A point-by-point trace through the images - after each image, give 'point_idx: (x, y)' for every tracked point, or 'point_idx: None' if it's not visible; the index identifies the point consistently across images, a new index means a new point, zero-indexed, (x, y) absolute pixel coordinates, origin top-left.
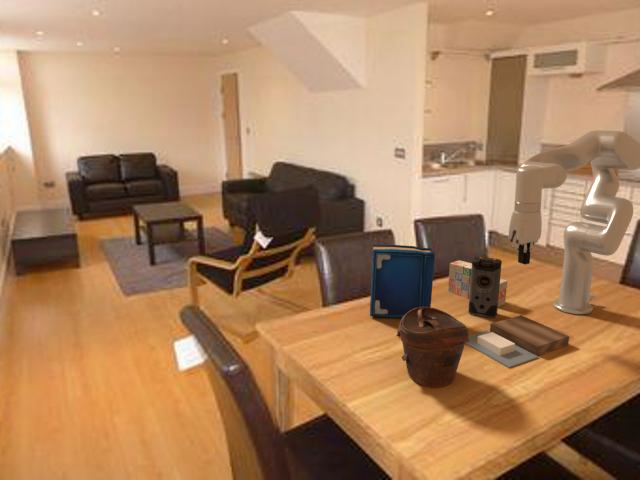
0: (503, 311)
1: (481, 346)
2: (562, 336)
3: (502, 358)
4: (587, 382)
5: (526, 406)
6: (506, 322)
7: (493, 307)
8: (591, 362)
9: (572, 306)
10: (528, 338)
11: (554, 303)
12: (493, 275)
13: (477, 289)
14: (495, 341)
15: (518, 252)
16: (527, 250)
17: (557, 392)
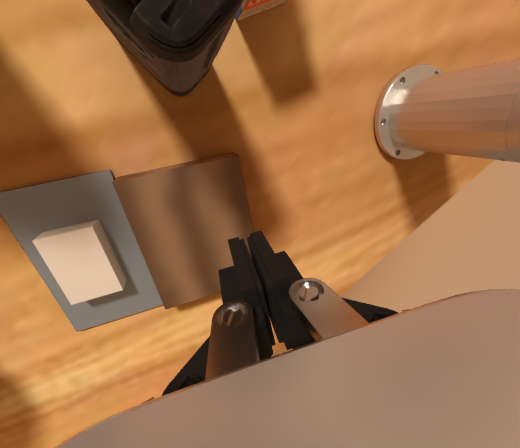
0: (240, 59)
1: None
2: None
3: (78, 303)
4: None
5: (48, 421)
6: (166, 187)
7: (175, 91)
8: None
9: (397, 139)
10: (169, 276)
11: (390, 88)
12: (154, 58)
13: (101, 14)
14: (74, 275)
15: (237, 277)
16: (289, 340)
17: (127, 390)
